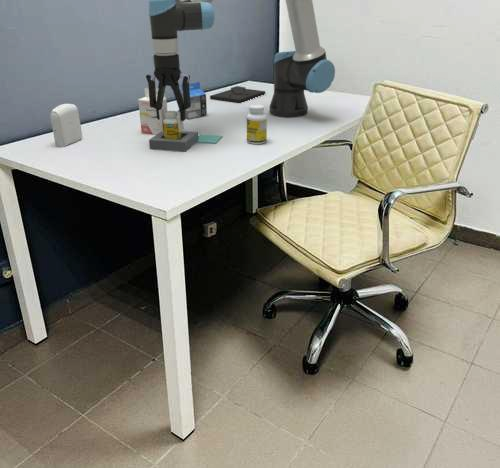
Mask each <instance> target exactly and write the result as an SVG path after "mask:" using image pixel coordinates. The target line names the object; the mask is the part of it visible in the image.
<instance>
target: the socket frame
mask: <svg viewBox="0 0 500 468" xmlns="http://www.w3.org/2000/svg"><path fill="white" fill-rule="evenodd" d="M198 136H199V131H190V130H183V131H182V132H181V138H182V139H180V140H179V139H165V136H164V131H161V132H160V133H158V134H157V135H155V134H154V136H152V137H151V138H149V139H148V142H149V143H148V146H149V150H154V151H171V152H181V153H183V152H186V153H187V151H189V150H190V149H191V148H192V147H193V146H194V145H195V144H198V143H197V141H198V140H199V139H198Z"/></svg>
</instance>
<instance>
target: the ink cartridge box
mask: <svg viewBox="0 0 500 468" xmlns="http://www.w3.org/2000/svg"><path fill="white" fill-rule="evenodd" d="M143 90H144V95H145V96H144V97H142V98H138V110H139V119H140V120H139V122H140V131H141V134H146V135H147V134H148V135H154V136H155V135H157V134H158V133H160V132H161V128H160V120H158V119H157V113H156V109H155V108H153V107H150V101H149V87H145V88H144V89H143ZM157 95H158V88H156V101H157ZM167 100H168V99H167V95H166V91H165V92H164V98H163V104H162V106H163V107H162V108H164V109H165V112H166V111H168V102H167ZM165 118H166V117H165Z"/></svg>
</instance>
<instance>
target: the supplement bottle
mask: <svg viewBox="0 0 500 468" xmlns="http://www.w3.org/2000/svg"><path fill="white" fill-rule="evenodd" d="M177 111H178V110H177ZM177 111H176V110H167V111H166V112H164V116H165V117H166V118H165V119H164V120H163V126H164V136H165V139H179V140H180V139H182V138H181V132H179V130H178V117H177Z"/></svg>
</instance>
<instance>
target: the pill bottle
mask: <svg viewBox="0 0 500 468" xmlns="http://www.w3.org/2000/svg"><path fill="white" fill-rule="evenodd" d="M248 109H249V113H248V114H247V115H246V141H247V143H249V144H251V145H261V144H262V145H263V144H265V143H266V142H267V140H268V139H267V137H268V136H267V135H268V134H267V133H268V131H267V130H268V129H267V127H268V125H267V124H268V123H267V122H268V121H267V120H268V116H267V115H266V114H265V113H264V111H265V106H264V105H263V104H251V105H249V106H248Z"/></svg>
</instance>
